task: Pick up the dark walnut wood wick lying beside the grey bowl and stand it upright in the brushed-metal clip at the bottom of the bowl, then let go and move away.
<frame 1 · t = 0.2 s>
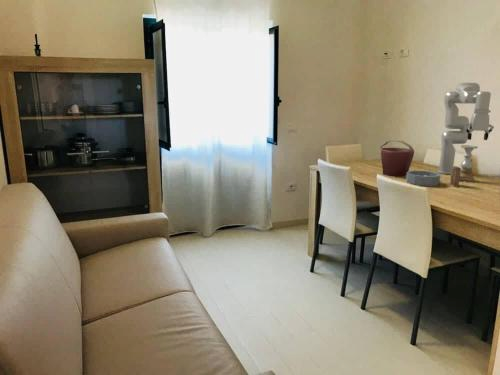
hand: (477, 139, 245), 30 cm above the table, tool pointing down, fingers open, 9 cm apart
grey bowl: (422, 182, 261), on the table
wood wick: (454, 185, 256), on the table
candle holder: (464, 180, 270), on the table
bucket: (394, 174, 289), on the table
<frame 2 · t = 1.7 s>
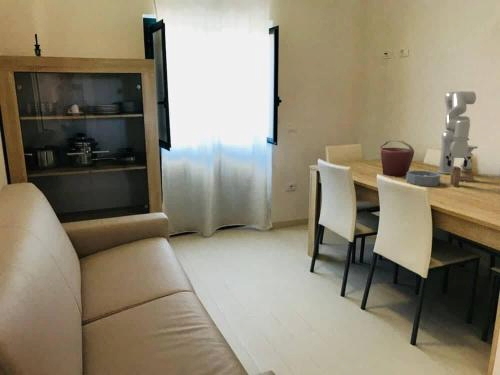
hand: (456, 166, 252), 13 cm above the table, tool pointing down, fingers open, 9 cm apart
nothing on the table moved.
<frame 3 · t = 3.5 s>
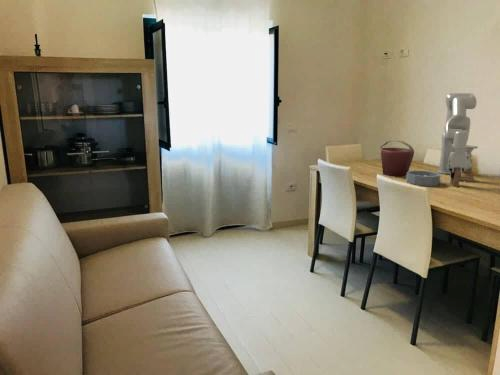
hand: (455, 178, 255), 5 cm above the table, tool pointing down, fingers closed on wood wick, 3 cm apart
wood wick: (454, 185, 256), on the table, touching gripper
everything else where it was.
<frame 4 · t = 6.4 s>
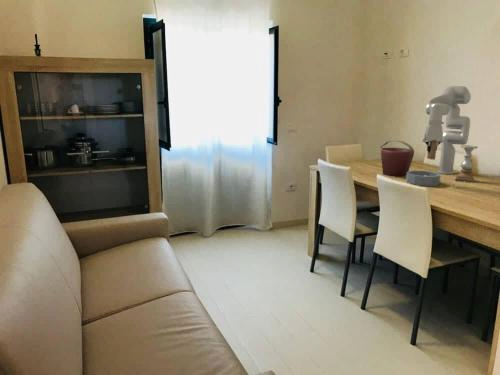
hand: (431, 151, 255), 21 cm above the table, tool pointing down, fingers closed on wood wick, 3 cm apart
wood wick: (430, 158, 256), point 17 cm above the table, touching gripper
everything else where it was.
when the fingers open (7 cm above the table, at t = 9.4 s): wood wick drops 1 cm, resting on grey bowl.
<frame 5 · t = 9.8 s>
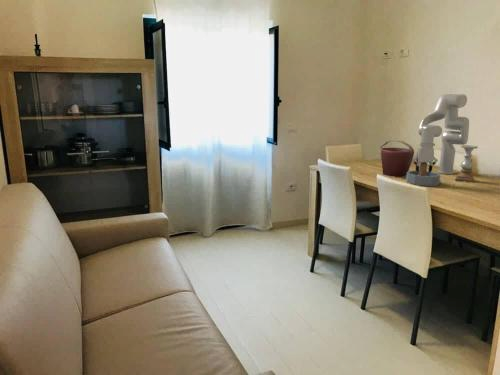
hand: (423, 171, 260), 8 cm above the table, tool pointing down, fingers open, 7 cm apart
wood wick: (421, 179, 263), point 2 cm above the table, touching grey bowl
everything else where it was.
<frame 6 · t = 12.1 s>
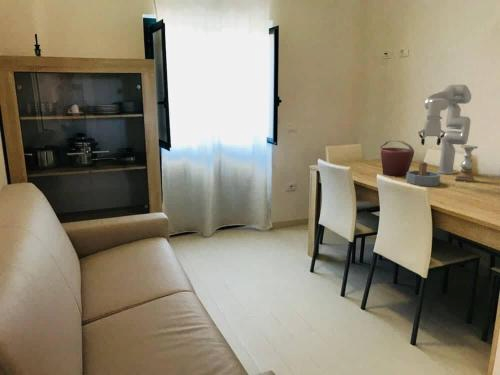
hand: (430, 144, 258), 25 cm above the table, tool pointing down, fingers open, 9 cm apart
nothing on the table moved.
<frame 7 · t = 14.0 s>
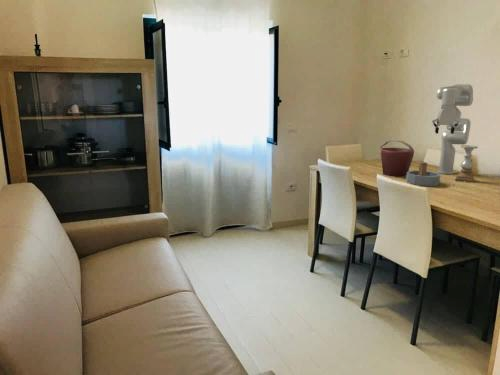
hand: (444, 133, 262), 32 cm above the table, tool pointing down, fingers open, 9 cm apart
nothing on the table moved.
at the end: wood wick 2.3 cm off-centre on the grey bowl, point 1.5 cm above the grey bowl's base; wood wick tilted 0°; the gripper is holding nothing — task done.
